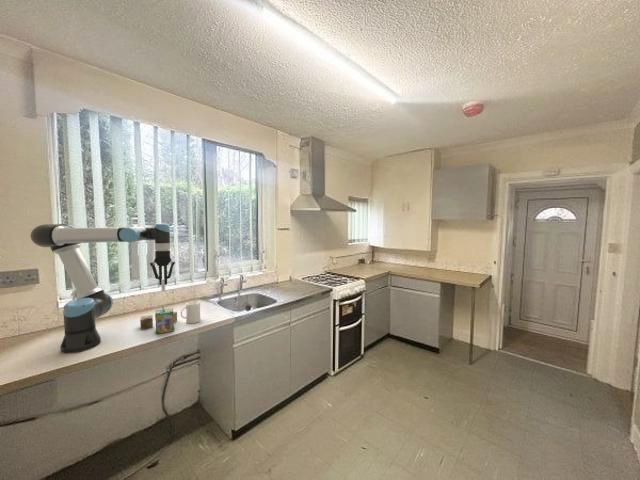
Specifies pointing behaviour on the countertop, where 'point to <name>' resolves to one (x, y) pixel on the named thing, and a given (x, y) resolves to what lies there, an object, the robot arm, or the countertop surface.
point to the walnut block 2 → (175, 316)
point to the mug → (192, 312)
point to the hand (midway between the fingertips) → (163, 290)
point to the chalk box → (164, 320)
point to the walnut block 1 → (146, 322)
